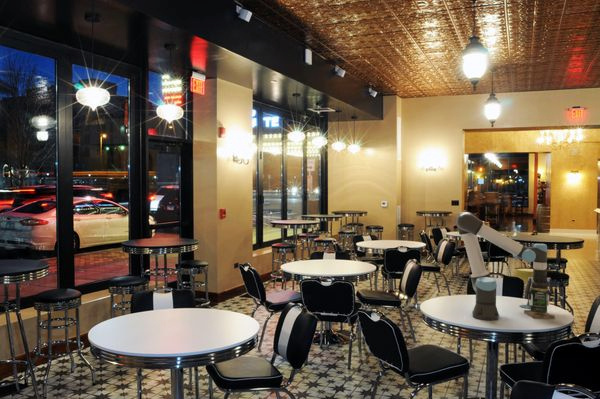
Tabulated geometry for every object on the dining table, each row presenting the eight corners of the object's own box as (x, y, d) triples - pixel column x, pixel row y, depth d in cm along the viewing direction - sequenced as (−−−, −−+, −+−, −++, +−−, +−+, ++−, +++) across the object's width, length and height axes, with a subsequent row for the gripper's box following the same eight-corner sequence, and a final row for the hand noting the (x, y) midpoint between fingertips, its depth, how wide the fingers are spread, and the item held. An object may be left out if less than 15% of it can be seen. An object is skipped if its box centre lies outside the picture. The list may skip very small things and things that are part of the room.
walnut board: (532, 318, 307) (532, 315, 307) (523, 312, 320) (524, 310, 320) (554, 318, 307) (554, 315, 307) (544, 313, 320) (544, 310, 320)
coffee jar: (529, 312, 312) (530, 282, 311) (530, 309, 319) (531, 280, 318) (547, 314, 307) (548, 283, 307) (547, 311, 315) (548, 281, 314)
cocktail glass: (526, 310, 325) (527, 272, 325) (507, 304, 342) (508, 267, 342) (549, 309, 330) (550, 271, 329) (530, 303, 347) (531, 267, 347)
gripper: (524, 269, 309) (523, 306, 310) (560, 270, 309) (559, 306, 309) (519, 267, 317) (518, 303, 317) (555, 268, 316) (554, 304, 317)
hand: (539, 305), depth 313 cm, fingers closed on coffee jar, 9 cm apart
